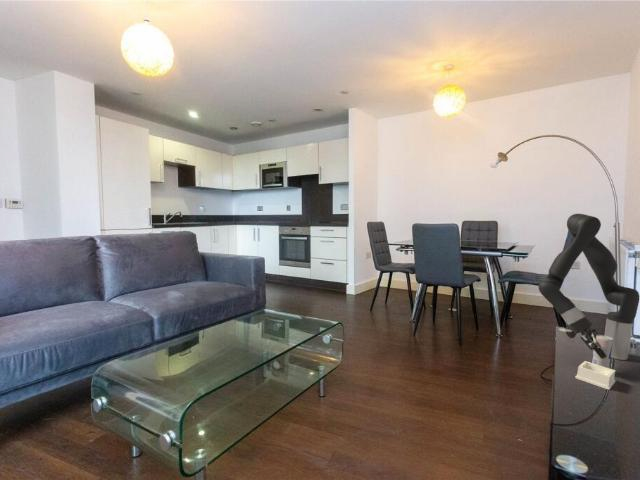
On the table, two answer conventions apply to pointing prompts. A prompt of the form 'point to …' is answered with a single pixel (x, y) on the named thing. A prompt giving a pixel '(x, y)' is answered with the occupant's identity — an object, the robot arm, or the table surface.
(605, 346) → the beverage can
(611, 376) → the can holder
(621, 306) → the robot arm
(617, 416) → the table surface
